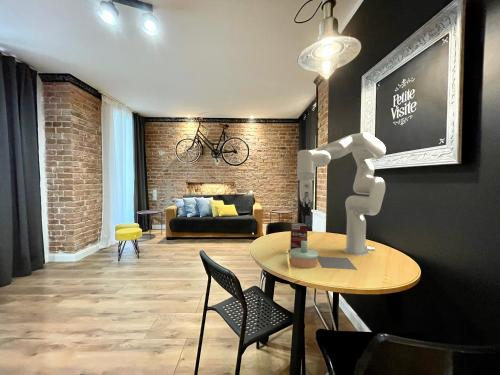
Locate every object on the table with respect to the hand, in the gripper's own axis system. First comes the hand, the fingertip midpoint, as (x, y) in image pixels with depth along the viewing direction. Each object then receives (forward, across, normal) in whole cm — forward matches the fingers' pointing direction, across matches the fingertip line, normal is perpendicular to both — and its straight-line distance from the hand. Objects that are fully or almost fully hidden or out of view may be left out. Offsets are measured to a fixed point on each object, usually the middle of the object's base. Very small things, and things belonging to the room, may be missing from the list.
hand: (304, 213), depth 108 cm
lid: (+19, 0, 0) cm, 19 cm away
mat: (+24, +3, -15) cm, 29 cm away
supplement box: (+24, +17, +1) cm, 30 cm away
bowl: (+24, 0, 0) cm, 24 cm away
